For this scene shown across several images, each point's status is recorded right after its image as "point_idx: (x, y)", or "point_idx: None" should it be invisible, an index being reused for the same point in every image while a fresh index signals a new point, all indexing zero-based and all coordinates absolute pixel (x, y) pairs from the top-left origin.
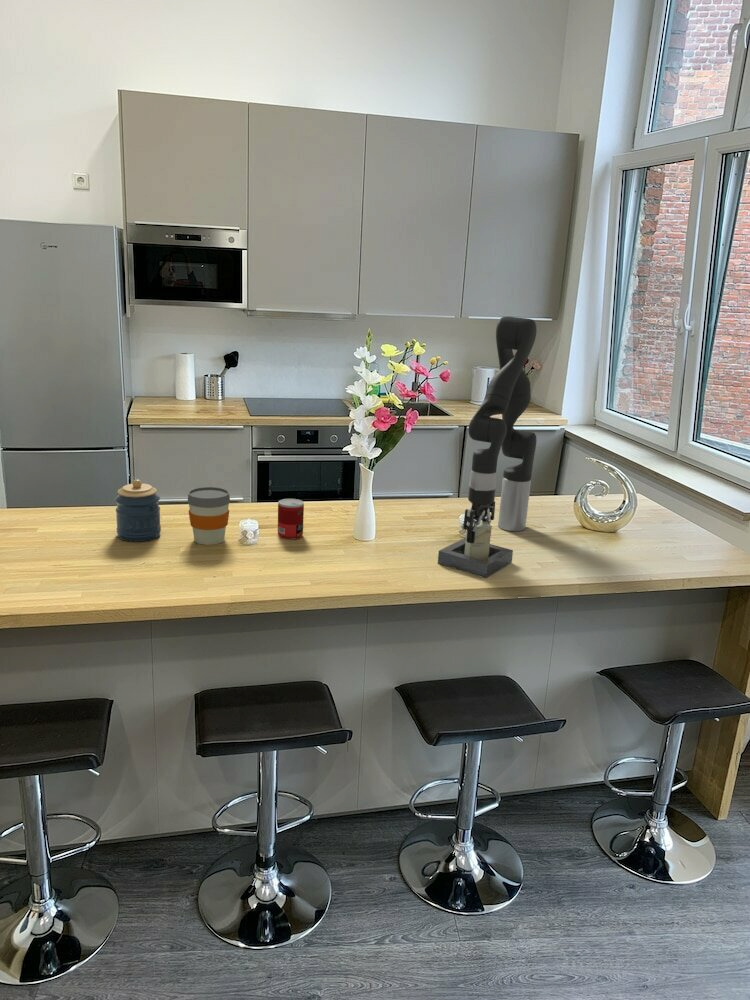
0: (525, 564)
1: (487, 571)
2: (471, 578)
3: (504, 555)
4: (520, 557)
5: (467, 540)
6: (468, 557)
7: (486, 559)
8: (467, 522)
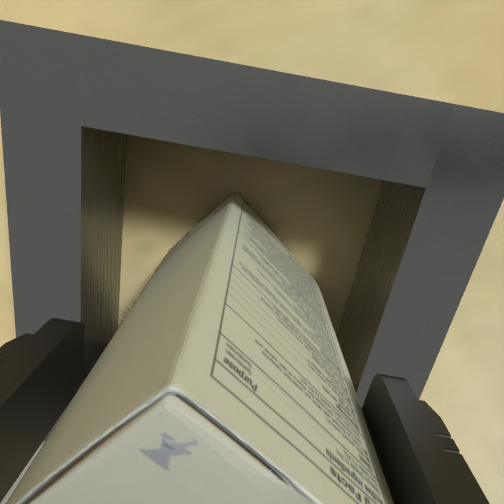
0: None
1: None
2: (11, 318)
3: None
4: (465, 438)
5: (19, 343)
6: (52, 306)
7: None
8: (166, 383)
